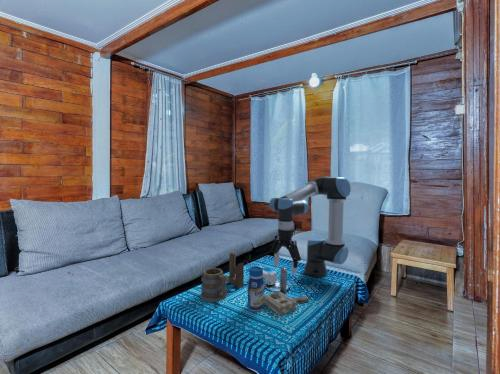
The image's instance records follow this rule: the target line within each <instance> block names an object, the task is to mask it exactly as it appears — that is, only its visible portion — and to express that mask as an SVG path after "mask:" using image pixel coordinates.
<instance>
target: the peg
mask: <svg viewBox="0 0 500 374" xmlns="http://www.w3.org/2000/svg"><path fill="white" fill-rule="evenodd" d="M279 271H280V277H279V280H280V282H279V291H280V292H281V293H283V294H285V295H286V294H287V288H288V287H287V285H288V268H287V267H284V266H283V267H280V270H279Z"/></svg>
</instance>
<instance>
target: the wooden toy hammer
mask: <svg viewBox="0 0 500 374" xmlns="http://www.w3.org/2000/svg"><path fill="white" fill-rule="evenodd" d="M228 257H229V261H228V262H229V263H228V264H229V266H228V268H229V273H228V274H229V275H227V276H228V278H229V281H228V283H229V284H231V285H234V286H235V287H236V288H242V287H244V281H245V280H244V278H245V277H244V276H245V275H244V273H245V272H244V270H245V269H244V267H245V263H244V262H242V263H238V265H236V252H229V256H228Z"/></svg>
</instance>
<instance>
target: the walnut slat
mask: <svg viewBox="0 0 500 374" xmlns="http://www.w3.org/2000/svg"><path fill="white" fill-rule="evenodd" d="M290 298H291V297H290ZM291 299H293V300H294V301H296V302H297V304H302V303H307V302H309V298H308V297H307V296H298V297H293V298H291Z"/></svg>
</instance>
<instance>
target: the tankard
mask: <svg viewBox="0 0 500 374" xmlns="http://www.w3.org/2000/svg"><path fill="white" fill-rule="evenodd" d="M228 276H229V275H225V274H224V271H223V270H222V269H221V268H217V267H210V268H205V269H204V270H203V272H202V276H201V282H202V285H201V292H200V295H199V298H200V299H201V300H203V301H204V302H205V303H208V302H209V303H216V302H219V301H222V300H225V299H226V297H227V293H228V289H227V286H226V285H227V284H226V283H227V282H228V281H229V278H228ZM228 283H229V282H228Z"/></svg>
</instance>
